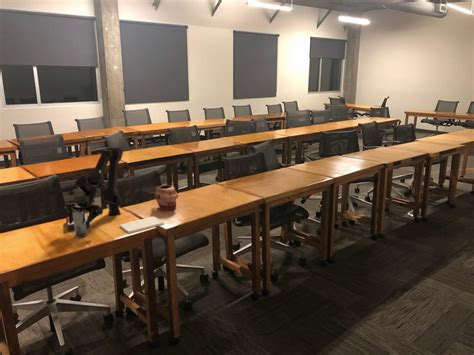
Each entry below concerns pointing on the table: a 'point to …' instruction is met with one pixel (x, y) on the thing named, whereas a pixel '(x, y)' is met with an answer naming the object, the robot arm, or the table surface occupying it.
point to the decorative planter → (166, 197)
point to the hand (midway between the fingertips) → (78, 224)
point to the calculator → (71, 226)
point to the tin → (79, 223)
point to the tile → (141, 224)
